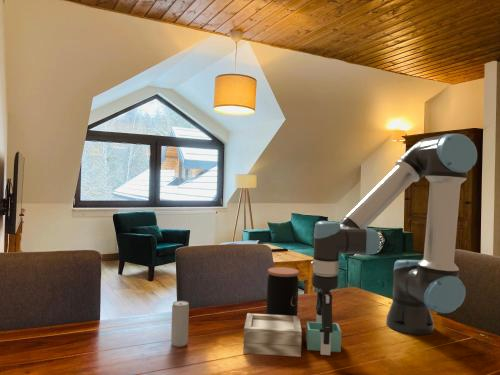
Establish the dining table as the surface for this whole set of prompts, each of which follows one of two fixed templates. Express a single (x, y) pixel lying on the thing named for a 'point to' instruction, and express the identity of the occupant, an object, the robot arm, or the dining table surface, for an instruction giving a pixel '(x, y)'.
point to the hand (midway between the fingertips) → (322, 344)
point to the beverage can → (180, 323)
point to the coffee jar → (282, 291)
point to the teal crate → (315, 336)
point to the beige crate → (272, 335)
